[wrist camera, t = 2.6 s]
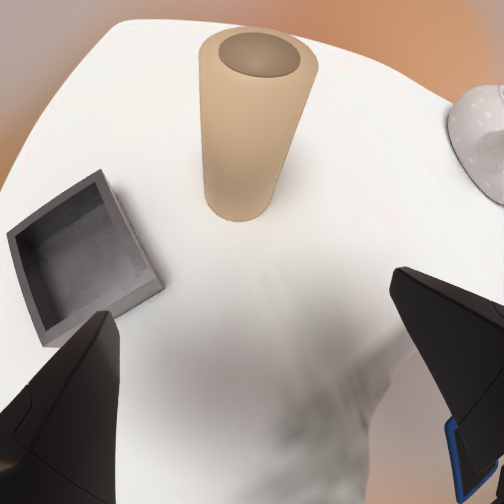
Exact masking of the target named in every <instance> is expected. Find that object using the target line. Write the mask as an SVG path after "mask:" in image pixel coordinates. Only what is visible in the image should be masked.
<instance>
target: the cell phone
mask: <svg viewBox="0 0 504 504" xmlns="http://www.w3.org/2000/svg"><path fill="white" fill-rule="evenodd" d="M444 431H445V436H446V440H447V446H448V451H449V455H450V461H451V467H452V473H453V481H454V488H455V496H456V501H457V503H459V504H462V503H463V502H465V501H466V500H467V499H468V498H469V497H470V496H472V495H473V494H474V492H476V491H477V490H478V489H479V488H480V487H481V486H482V485H483V484H484V483H485V482H486V481H487V480H488V479H489V478H490V477H491V476H492V474H493V473H494V472H495V471H496V469H497V467H498V459H497V460H496V461H495V462H494V463H492V464H491V465H490V466H488V467H487V468H486V469H484V470H483V471H482V472H480V473H479V474H478V473H477V471H476V469H475V467H474V464H473V462H472V459H471V457H470V454H469V452H468V450H467V447H466V445H465V443H464V440H463V438H462V436H461V434H460V431H459V429H458V427H457V425H456V422H455V420H454V418H453V416H451V417H450V418H449V419H448V420H447V421H446V423H445V425H444Z"/></svg>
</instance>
